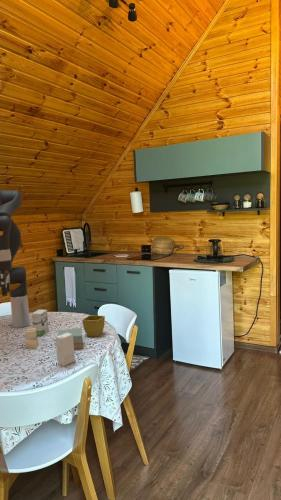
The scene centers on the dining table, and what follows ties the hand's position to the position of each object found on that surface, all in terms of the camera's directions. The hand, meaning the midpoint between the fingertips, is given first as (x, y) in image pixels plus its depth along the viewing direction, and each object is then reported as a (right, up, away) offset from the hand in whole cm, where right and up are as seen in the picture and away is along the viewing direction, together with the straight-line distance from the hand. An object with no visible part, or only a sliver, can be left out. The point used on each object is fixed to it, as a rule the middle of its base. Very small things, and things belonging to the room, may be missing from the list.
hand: (6, 293), depth 177 cm
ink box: (+11, -23, +21) cm, 33 cm away
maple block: (+11, -25, +3) cm, 28 cm away
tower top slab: (+30, -22, 0) cm, 37 cm away
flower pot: (+40, -23, +14) cm, 48 cm away
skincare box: (+32, -27, -19) cm, 46 cm away
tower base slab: (+30, -25, 0) cm, 39 cm away
